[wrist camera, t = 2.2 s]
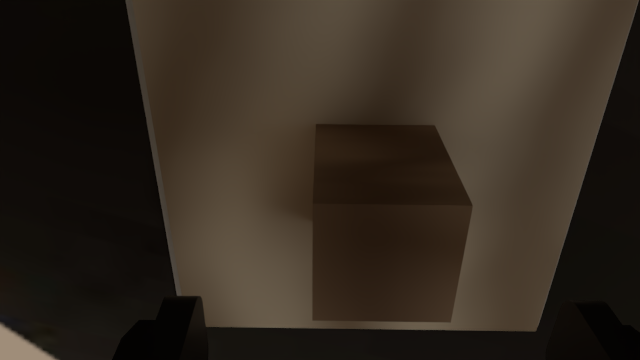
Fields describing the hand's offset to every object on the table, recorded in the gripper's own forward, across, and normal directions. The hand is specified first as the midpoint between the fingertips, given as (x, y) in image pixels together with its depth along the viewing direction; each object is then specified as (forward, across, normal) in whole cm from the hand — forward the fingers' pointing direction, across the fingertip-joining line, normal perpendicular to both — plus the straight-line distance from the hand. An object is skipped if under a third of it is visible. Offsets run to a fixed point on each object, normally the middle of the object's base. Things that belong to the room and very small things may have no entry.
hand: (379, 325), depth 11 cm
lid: (+8, -1, 0) cm, 8 cm away
